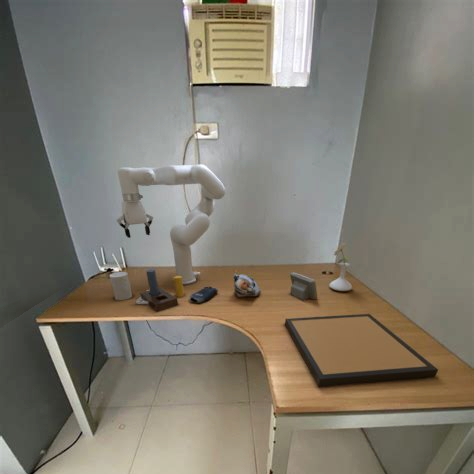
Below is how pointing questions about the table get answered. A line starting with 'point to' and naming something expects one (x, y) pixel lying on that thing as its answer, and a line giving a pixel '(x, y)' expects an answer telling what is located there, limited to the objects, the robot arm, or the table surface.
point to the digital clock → (303, 286)
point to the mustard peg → (178, 286)
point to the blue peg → (152, 282)
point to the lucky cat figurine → (245, 286)
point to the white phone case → (141, 301)
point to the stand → (159, 299)
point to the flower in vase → (341, 282)
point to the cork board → (355, 351)
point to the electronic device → (203, 294)
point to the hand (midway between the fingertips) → (138, 236)
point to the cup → (120, 285)
